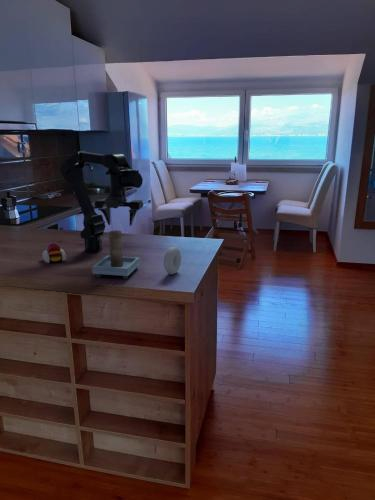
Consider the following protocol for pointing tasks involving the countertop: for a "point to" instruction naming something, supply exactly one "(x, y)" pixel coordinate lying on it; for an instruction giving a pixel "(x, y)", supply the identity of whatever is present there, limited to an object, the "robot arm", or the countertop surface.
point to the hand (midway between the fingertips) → (120, 225)
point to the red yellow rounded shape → (54, 253)
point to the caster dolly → (125, 270)
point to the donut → (172, 260)
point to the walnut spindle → (116, 248)
